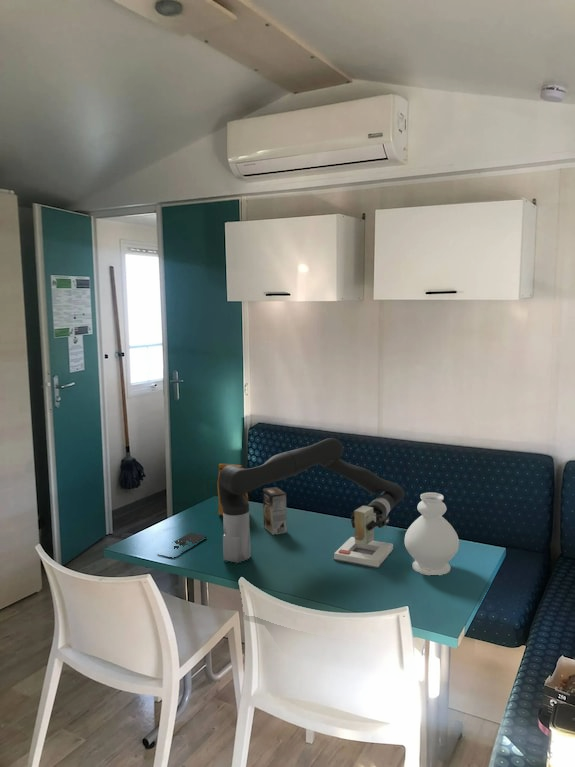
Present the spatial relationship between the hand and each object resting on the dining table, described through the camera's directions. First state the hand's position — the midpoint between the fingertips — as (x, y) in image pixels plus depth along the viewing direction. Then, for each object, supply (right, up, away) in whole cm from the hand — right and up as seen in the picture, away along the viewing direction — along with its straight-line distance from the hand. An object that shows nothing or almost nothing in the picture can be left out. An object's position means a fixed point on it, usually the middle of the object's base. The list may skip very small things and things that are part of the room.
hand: (361, 526), depth 222 cm
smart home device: (-65, -12, +16) cm, 68 cm away
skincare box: (+1, -6, +3) cm, 7 cm away
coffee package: (-48, -6, +47) cm, 68 cm away
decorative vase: (+23, -12, -7) cm, 27 cm away
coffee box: (-31, -8, +29) cm, 43 cm away
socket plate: (+1, -11, +4) cm, 12 cm away
